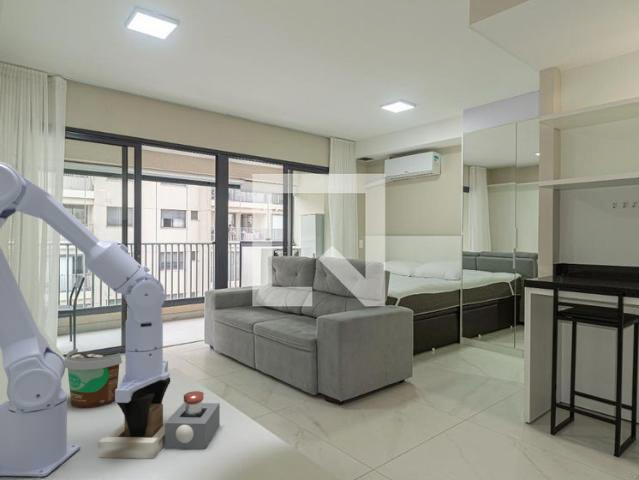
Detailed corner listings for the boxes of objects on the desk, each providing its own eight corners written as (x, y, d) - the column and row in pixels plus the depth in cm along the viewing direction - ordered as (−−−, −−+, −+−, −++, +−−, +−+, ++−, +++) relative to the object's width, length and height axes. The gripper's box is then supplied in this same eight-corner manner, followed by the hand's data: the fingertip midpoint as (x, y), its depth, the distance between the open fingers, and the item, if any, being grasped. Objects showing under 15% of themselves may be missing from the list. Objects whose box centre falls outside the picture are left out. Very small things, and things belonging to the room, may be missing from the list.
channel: (98, 457, 61) (98, 441, 61) (151, 408, 79) (151, 395, 79) (153, 458, 61) (153, 442, 61) (194, 408, 79) (194, 396, 79)
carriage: (124, 444, 65) (124, 411, 65) (136, 432, 69) (136, 401, 69) (152, 444, 65) (152, 411, 65) (163, 432, 69) (162, 402, 69)
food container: (48, 406, 80) (48, 356, 80) (75, 395, 86) (75, 348, 86) (97, 414, 77) (97, 361, 77) (122, 401, 82) (122, 353, 82)
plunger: (180, 427, 66) (180, 398, 66) (187, 418, 70) (187, 391, 70) (199, 427, 66) (199, 398, 66) (206, 419, 69) (206, 391, 69)
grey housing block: (164, 448, 64) (164, 423, 64) (183, 425, 72) (183, 402, 72) (204, 449, 64) (204, 424, 64) (219, 425, 72) (219, 403, 72)
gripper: (147, 360, 60) (147, 452, 60) (184, 337, 74) (184, 410, 74) (101, 360, 60) (101, 451, 60) (146, 336, 75) (146, 410, 75)
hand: (144, 428), depth 67 cm, fingers closed on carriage, 4 cm apart
